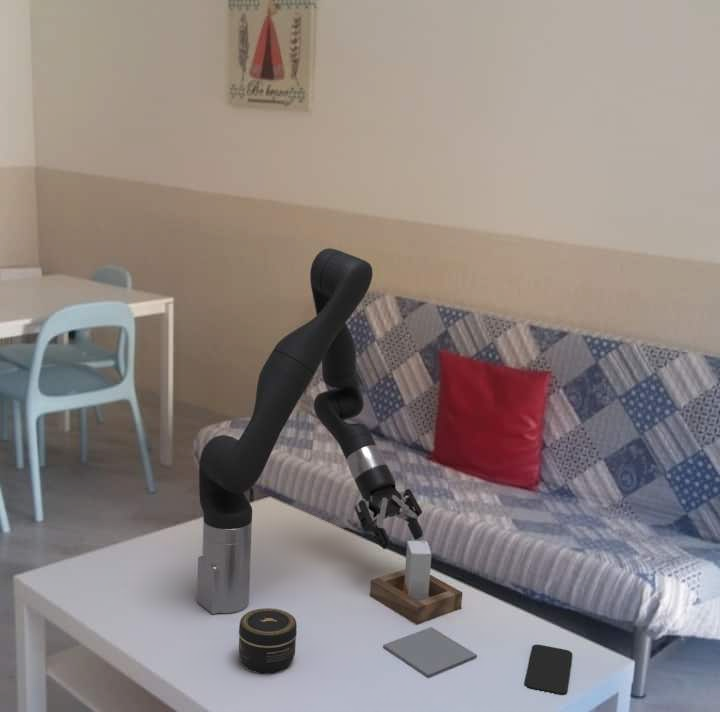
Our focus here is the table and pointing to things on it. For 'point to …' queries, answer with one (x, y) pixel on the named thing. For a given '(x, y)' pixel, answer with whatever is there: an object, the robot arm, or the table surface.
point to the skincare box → (417, 569)
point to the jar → (267, 640)
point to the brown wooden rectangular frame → (416, 611)
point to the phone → (548, 669)
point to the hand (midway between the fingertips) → (403, 542)
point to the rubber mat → (429, 652)
